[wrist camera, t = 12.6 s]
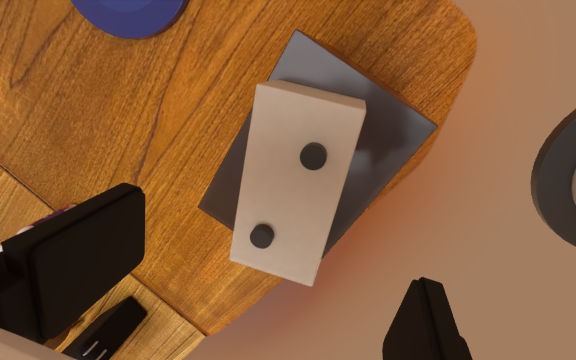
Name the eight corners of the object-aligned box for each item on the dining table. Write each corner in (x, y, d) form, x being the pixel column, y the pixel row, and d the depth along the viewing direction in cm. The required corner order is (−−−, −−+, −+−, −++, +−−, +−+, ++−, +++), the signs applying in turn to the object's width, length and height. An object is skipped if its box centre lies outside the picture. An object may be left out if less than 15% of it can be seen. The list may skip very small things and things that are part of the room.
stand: (326, 43, 29) (295, 27, 16) (403, 96, 30) (438, 126, 16) (261, 150, 35) (197, 207, 21) (326, 194, 35) (304, 279, 21)
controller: (276, 78, 17) (251, 84, 13) (365, 100, 16) (367, 112, 12) (249, 229, 21) (224, 267, 17) (320, 251, 20) (310, 295, 16)
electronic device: (98, 315, 52) (43, 369, 43) (131, 294, 48) (78, 347, 39) (115, 332, 53) (64, 389, 44) (149, 312, 49) (101, 369, 40)
